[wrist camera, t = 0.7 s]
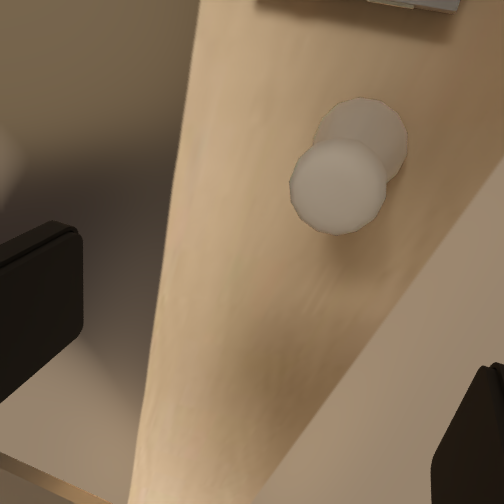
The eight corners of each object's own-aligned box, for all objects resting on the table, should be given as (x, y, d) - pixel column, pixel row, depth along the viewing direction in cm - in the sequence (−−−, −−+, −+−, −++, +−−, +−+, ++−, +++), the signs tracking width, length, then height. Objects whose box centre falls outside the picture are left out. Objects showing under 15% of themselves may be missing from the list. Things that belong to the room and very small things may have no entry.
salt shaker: (332, 188, 33) (287, 266, 21) (310, 109, 31) (249, 148, 20) (417, 169, 30) (416, 244, 19) (399, 81, 28) (387, 108, 17)
